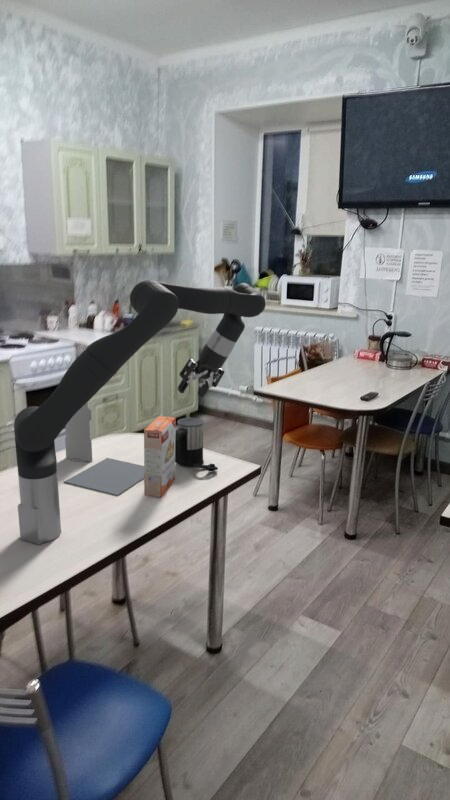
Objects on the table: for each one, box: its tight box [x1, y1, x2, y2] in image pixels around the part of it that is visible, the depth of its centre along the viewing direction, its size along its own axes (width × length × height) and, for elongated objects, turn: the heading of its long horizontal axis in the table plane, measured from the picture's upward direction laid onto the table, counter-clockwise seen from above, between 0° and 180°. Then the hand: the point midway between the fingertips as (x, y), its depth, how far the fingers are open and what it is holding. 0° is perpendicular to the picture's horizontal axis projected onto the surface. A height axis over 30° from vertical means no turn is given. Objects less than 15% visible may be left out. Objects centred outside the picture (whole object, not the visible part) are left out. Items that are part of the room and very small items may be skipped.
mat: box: [63, 457, 144, 497], centre depth 181 cm, size 22×20×1 cm
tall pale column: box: [64, 402, 93, 463], centre depth 190 cm, size 11×4×22 cm, turn 75°
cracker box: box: [143, 415, 177, 498], centre depth 170 cm, size 14×6×21 cm, turn 168°
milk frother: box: [175, 417, 219, 472], centre depth 188 cm, size 14×16×15 cm
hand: (190, 393), depth 169 cm, fingers open, 8 cm apart
